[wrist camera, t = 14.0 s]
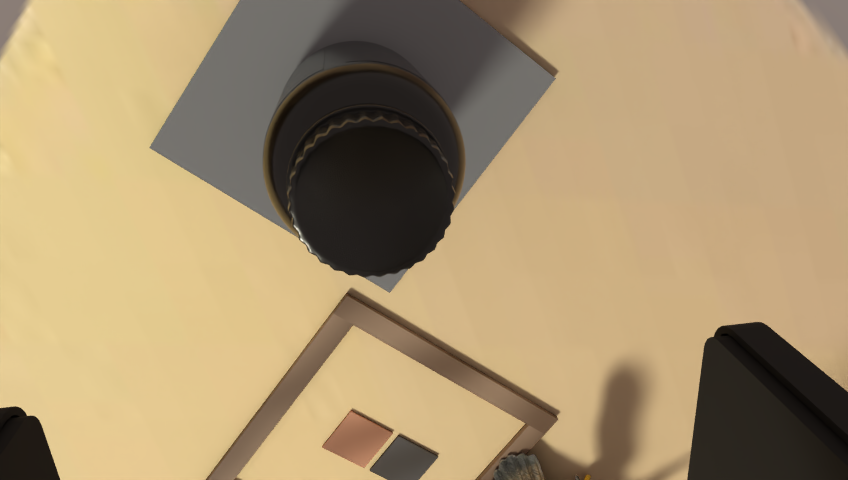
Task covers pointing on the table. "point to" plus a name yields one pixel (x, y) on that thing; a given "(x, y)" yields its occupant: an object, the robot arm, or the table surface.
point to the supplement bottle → (363, 159)
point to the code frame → (363, 436)
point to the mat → (322, 26)
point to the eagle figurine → (522, 468)
